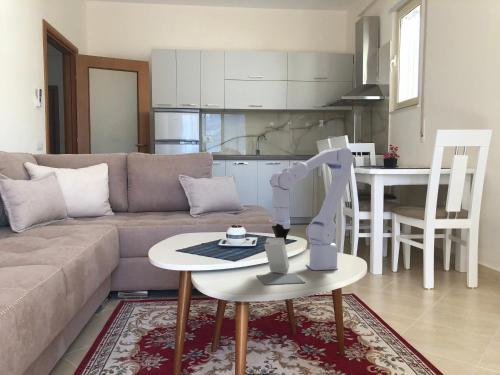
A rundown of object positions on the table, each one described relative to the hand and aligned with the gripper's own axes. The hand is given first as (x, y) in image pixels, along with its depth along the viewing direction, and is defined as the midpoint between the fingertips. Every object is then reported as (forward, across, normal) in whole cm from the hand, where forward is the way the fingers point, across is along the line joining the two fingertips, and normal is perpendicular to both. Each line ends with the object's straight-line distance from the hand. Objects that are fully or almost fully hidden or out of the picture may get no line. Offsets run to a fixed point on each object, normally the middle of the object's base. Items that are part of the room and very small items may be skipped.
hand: (280, 246), depth 142 cm
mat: (+9, +8, -2) cm, 12 cm away
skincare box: (+8, 0, 0) cm, 8 cm away
